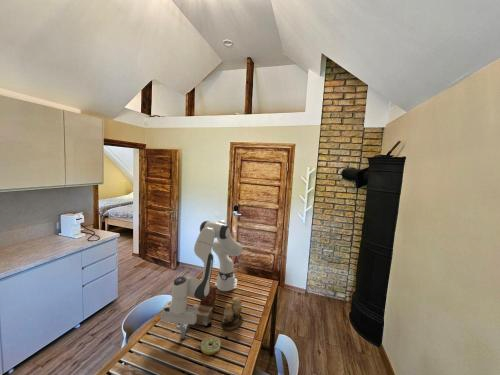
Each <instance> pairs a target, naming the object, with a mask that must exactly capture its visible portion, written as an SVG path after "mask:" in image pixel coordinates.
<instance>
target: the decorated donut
mask: <svg viewBox="0 0 500 375" xmlns="http://www.w3.org/2000/svg"><path fill="white" fill-rule="evenodd" d="M220 349H221V340H220V339H219V338H218V337H214V336H208V337H206V338H203V339H202V341H201V342H200V351H201V352H202V353H203V354H204V355H208V356H212V355H215V354H216V353H218V352H219V350H220Z"/></svg>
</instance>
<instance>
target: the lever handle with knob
mask: <svg viewBox="0 0 500 375" xmlns="http://www.w3.org/2000/svg"><path fill="white" fill-rule="evenodd" d="M188 325H189V324H182V326H181V330H180V336H179V338H180V340H185V338H186V331H187V329H188V328H187V327H188Z"/></svg>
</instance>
